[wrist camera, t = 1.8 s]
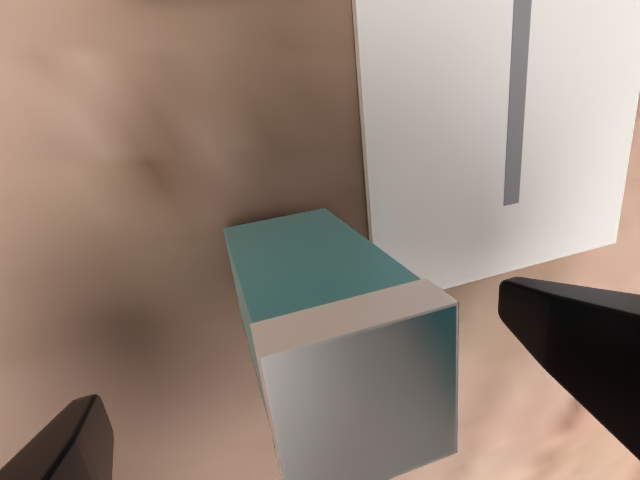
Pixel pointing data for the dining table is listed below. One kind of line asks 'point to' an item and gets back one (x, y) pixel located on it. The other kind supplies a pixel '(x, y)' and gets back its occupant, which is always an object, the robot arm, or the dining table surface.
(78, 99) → the dining table surface
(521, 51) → the paper
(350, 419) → the teal banded box
